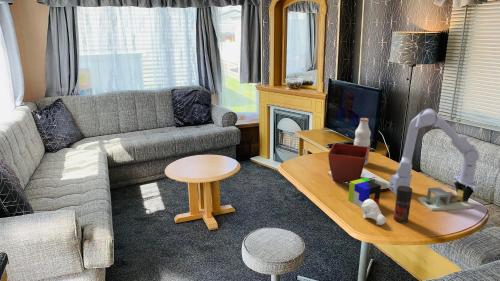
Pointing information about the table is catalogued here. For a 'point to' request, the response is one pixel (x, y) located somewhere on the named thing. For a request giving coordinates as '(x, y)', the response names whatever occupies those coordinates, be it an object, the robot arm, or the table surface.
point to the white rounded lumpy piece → (372, 211)
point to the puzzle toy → (363, 191)
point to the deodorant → (402, 204)
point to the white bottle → (363, 136)
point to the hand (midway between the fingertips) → (462, 198)
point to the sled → (454, 197)
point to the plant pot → (347, 162)
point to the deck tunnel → (437, 204)
